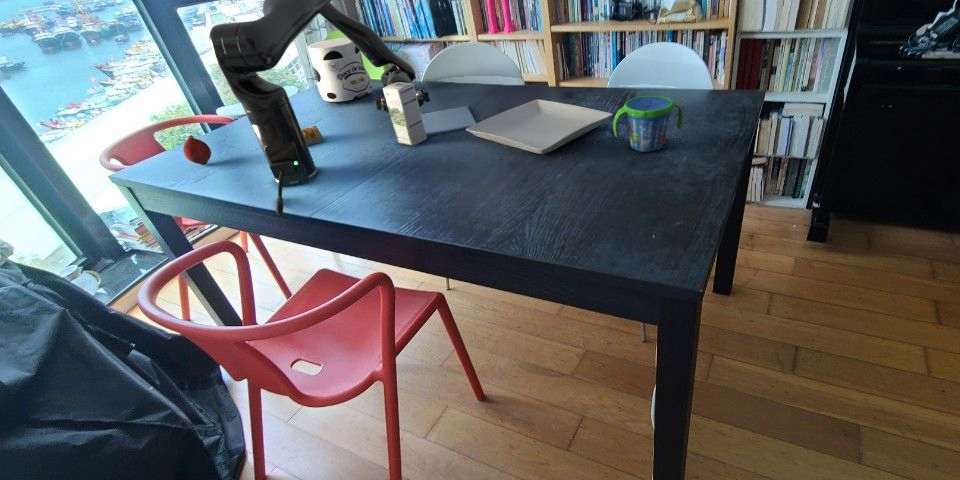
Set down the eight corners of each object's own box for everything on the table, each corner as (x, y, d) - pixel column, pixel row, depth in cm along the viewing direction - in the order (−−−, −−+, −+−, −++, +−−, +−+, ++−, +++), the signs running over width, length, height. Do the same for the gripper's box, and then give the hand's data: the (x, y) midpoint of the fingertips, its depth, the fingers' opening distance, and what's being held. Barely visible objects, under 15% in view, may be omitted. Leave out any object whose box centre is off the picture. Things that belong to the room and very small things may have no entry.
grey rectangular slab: (477, 126, 132) (477, 124, 131) (426, 135, 129) (426, 133, 129) (467, 107, 146) (467, 105, 145) (421, 116, 143) (420, 114, 143)
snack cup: (615, 158, 107) (616, 113, 101) (610, 140, 116) (610, 98, 109) (686, 153, 106) (691, 107, 100) (675, 135, 115) (679, 92, 109)
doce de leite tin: (366, 105, 157) (349, 46, 147) (315, 109, 158) (294, 51, 148) (381, 89, 171) (366, 35, 160) (334, 93, 172) (316, 39, 161)
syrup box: (428, 138, 128) (414, 82, 119) (412, 146, 124) (397, 89, 115) (412, 135, 130) (398, 80, 122) (396, 143, 126) (381, 87, 118)
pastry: (291, 151, 128) (286, 137, 126) (284, 145, 133) (279, 132, 131) (326, 141, 133) (321, 127, 131) (318, 135, 137) (313, 122, 135)
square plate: (614, 126, 123) (615, 111, 120) (543, 165, 108) (541, 148, 105) (538, 109, 139) (536, 96, 136) (466, 141, 123) (463, 126, 121)
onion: (199, 171, 123) (182, 141, 118) (187, 167, 126) (171, 138, 121) (221, 162, 127) (205, 132, 122) (209, 158, 129) (194, 130, 125)
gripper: (371, 80, 134) (371, 95, 121) (422, 72, 136) (427, 86, 123) (379, 107, 138) (379, 125, 125) (428, 99, 141) (434, 115, 128)
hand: (403, 105), depth 124 cm, fingers open, 8 cm apart
